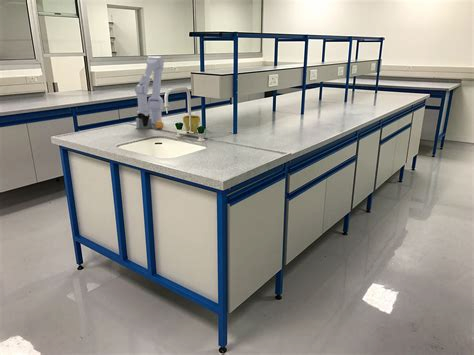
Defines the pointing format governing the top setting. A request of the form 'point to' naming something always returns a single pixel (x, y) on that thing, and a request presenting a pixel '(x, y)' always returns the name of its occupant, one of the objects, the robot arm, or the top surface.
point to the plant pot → (194, 122)
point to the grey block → (140, 123)
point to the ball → (159, 124)
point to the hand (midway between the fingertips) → (144, 125)
